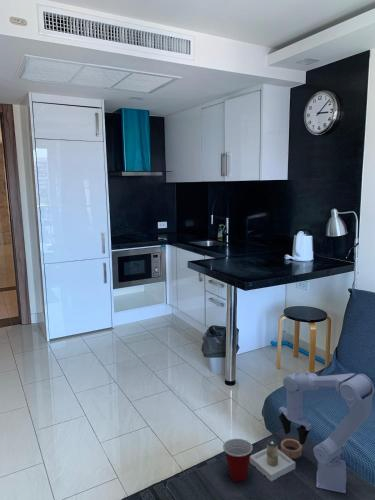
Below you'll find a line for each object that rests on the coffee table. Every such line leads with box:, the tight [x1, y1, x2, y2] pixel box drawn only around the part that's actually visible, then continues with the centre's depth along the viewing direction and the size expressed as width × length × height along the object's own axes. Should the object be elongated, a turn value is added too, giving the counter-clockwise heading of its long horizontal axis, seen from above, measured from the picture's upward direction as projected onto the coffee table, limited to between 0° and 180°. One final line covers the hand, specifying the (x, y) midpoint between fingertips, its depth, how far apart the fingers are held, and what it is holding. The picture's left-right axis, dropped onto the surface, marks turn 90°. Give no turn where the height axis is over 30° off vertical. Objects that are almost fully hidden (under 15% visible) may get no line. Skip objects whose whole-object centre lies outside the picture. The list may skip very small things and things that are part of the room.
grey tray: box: [249, 447, 296, 482], centre depth 143 cm, size 12×12×2 cm
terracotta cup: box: [280, 438, 303, 459], centre depth 150 cm, size 8×8×3 cm
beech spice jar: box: [266, 437, 279, 467], centre depth 142 cm, size 4×4×9 cm
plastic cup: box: [222, 438, 254, 483], centre depth 138 cm, size 11×11×12 cm
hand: (294, 438), depth 144 cm, fingers open, 7 cm apart
